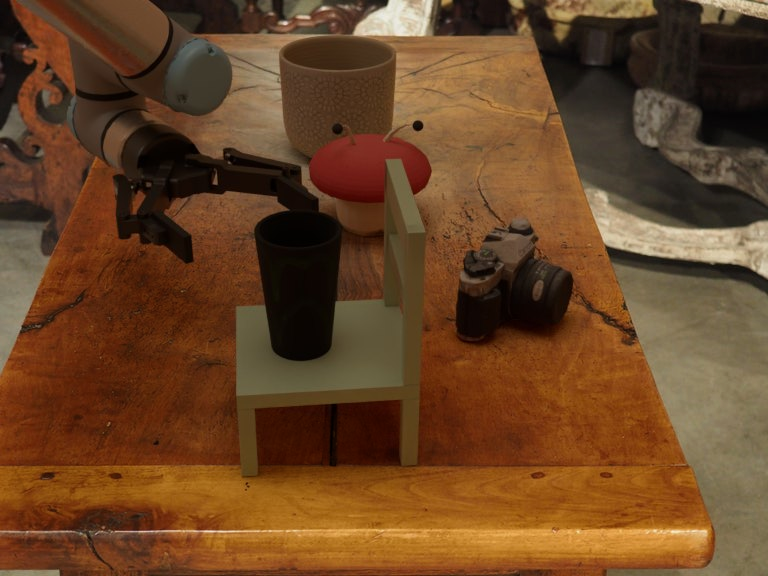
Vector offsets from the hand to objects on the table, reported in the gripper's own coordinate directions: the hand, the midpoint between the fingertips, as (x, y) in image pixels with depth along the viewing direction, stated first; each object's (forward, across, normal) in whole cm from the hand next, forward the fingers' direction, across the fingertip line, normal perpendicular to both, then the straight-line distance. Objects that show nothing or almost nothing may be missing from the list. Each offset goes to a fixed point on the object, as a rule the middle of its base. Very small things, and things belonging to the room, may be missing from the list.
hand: (254, 230), depth 100 cm
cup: (+7, 0, -9) cm, 12 cm away
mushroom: (-24, -30, -18) cm, 43 cm away
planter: (-46, -41, -18) cm, 65 cm away
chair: (+8, -2, -18) cm, 20 cm away
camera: (+5, -30, -18) cm, 36 cm away
